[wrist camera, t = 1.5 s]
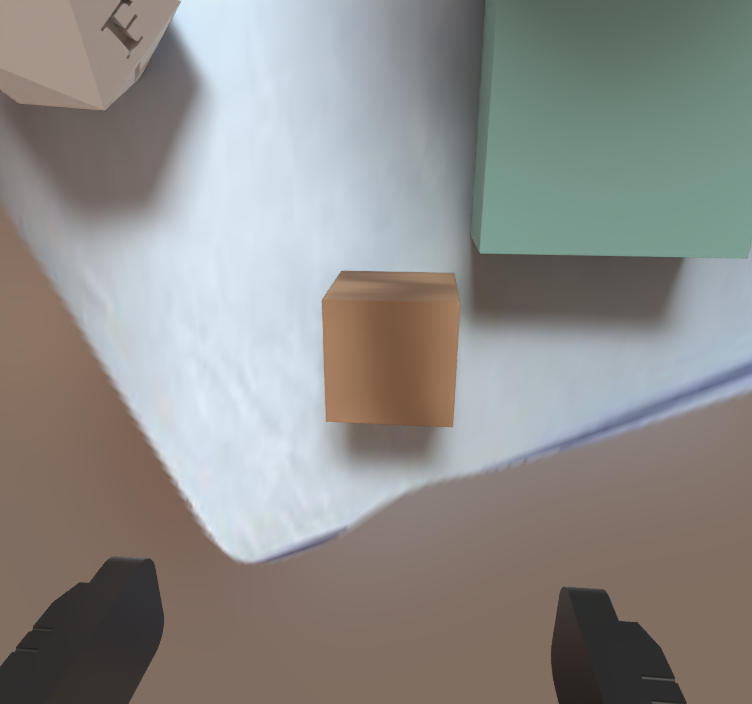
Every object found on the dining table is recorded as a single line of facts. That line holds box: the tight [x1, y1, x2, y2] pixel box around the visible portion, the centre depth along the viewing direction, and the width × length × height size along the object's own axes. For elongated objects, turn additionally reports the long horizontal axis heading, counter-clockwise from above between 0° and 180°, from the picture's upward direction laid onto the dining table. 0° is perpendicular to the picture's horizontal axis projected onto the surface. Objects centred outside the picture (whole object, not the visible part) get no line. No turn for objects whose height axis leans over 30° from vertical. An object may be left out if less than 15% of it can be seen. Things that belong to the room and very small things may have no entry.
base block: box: [470, 0, 752, 258], centre depth 21 cm, size 10×10×5 cm
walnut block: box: [322, 271, 460, 427], centre depth 25 cm, size 6×6×6 cm
